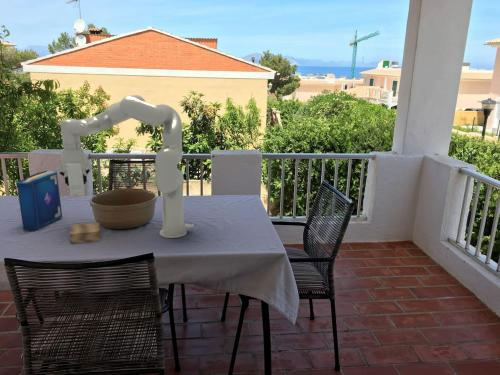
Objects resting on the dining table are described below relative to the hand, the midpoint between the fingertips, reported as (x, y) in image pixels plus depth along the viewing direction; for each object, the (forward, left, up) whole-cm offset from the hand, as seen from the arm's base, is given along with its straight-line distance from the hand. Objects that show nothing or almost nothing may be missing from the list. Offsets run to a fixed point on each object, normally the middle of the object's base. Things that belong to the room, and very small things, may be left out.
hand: (76, 183), depth 191 cm
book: (+16, -13, -23) cm, 31 cm away
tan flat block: (-2, +13, -23) cm, 26 cm away
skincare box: (0, 0, -5) cm, 5 cm away
